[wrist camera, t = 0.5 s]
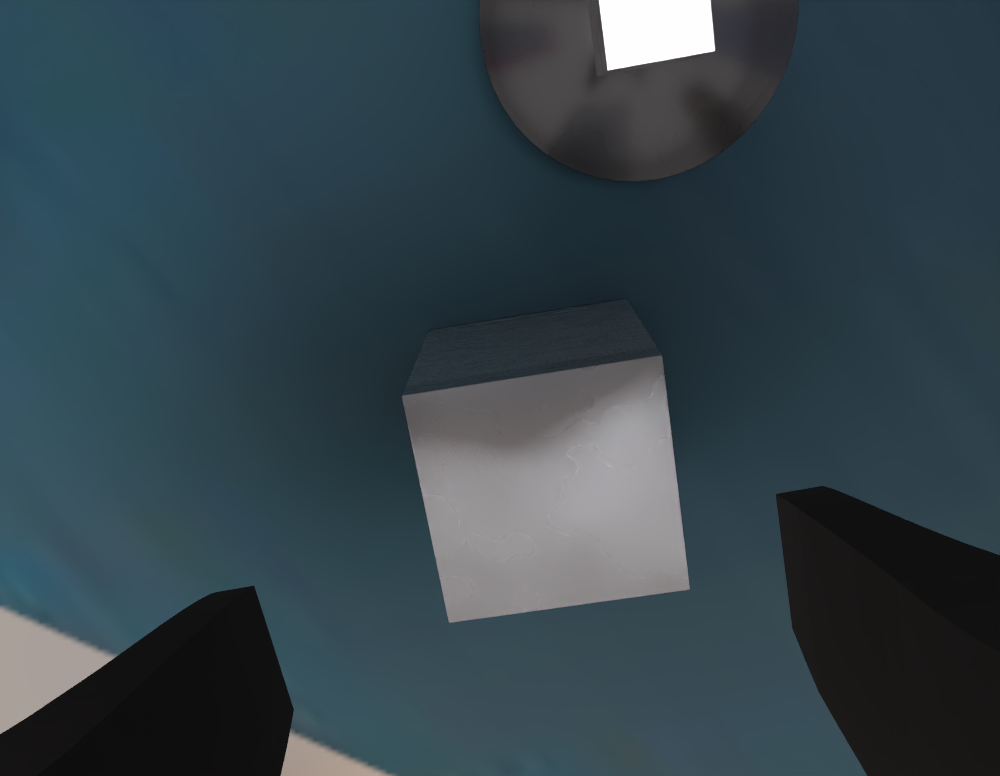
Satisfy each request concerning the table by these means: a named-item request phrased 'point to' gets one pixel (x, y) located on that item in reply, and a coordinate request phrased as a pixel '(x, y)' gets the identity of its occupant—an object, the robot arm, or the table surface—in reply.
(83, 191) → the table surface
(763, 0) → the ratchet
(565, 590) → the brushed metal cube
